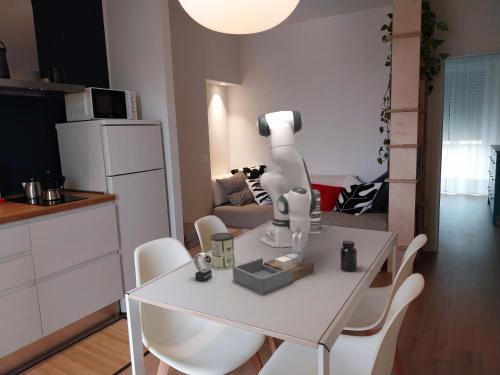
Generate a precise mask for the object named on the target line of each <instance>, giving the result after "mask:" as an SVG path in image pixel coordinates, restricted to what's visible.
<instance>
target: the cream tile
mask: <svg viewBox="0 0 500 375" xmlns="http://www.w3.org/2000/svg"><path fill="white" fill-rule="evenodd" d="M282 256H283V257H282ZM282 256H279V257H280V258H279V257H276V258H277V259H276V258H274V259H275V265H277V266H280V267H283V268H284V267H287V266H290V265H292V259H291V258H287V257H284V256H285V255H282Z"/></svg>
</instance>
